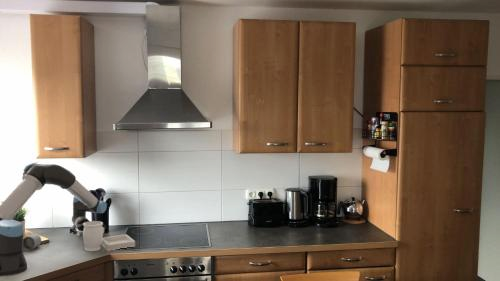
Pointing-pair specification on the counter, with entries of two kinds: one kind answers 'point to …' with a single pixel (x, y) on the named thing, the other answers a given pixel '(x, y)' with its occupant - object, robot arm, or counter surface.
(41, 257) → the counter surface
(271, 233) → the counter surface
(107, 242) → the holder
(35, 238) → the ceramic mug
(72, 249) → the counter surface
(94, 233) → the jar
